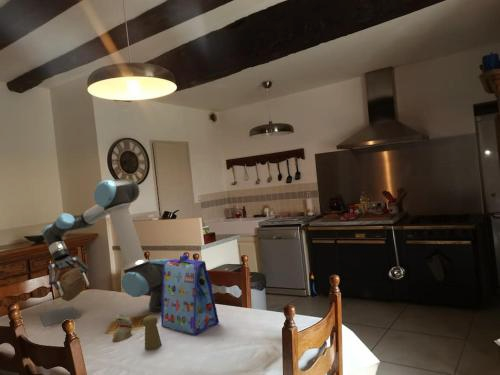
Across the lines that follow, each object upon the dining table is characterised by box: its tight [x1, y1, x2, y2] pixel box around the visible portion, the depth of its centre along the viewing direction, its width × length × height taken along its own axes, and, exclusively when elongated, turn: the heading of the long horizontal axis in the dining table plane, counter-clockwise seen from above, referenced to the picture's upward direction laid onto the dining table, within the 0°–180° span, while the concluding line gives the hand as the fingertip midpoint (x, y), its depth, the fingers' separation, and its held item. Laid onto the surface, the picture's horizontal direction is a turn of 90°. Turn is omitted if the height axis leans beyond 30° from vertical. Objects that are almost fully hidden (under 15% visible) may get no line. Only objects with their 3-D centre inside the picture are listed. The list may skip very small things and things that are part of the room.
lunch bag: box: [160, 254, 220, 336], centre depth 149 cm, size 22×14×29 cm, turn 49°
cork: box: [142, 314, 163, 351], centre depth 132 cm, size 6×6×11 cm
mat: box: [40, 305, 81, 328], centre depth 181 cm, size 24×15×1 cm, turn 34°
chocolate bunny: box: [111, 312, 133, 343], centre depth 144 cm, size 6×8×10 cm
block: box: [57, 268, 86, 302], centre depth 178 cm, size 11×8×20 cm
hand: (75, 289), depth 176 cm, fingers closed on block, 11 cm apart
